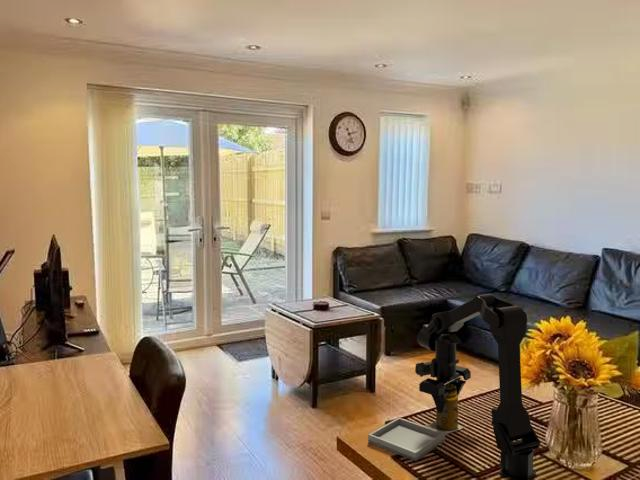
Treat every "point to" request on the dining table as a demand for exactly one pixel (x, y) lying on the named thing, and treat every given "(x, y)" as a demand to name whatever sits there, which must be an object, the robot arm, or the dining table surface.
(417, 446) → the tray
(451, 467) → the dining table surface
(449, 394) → the condiment
